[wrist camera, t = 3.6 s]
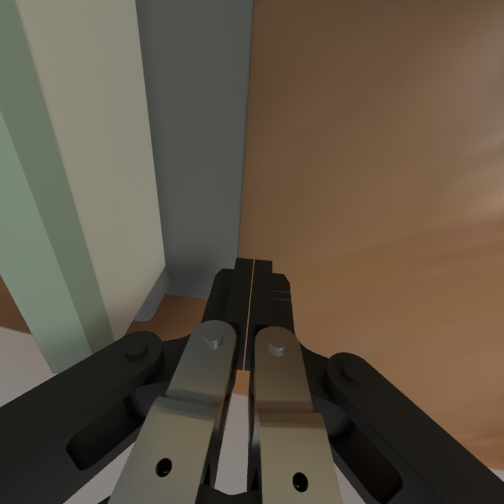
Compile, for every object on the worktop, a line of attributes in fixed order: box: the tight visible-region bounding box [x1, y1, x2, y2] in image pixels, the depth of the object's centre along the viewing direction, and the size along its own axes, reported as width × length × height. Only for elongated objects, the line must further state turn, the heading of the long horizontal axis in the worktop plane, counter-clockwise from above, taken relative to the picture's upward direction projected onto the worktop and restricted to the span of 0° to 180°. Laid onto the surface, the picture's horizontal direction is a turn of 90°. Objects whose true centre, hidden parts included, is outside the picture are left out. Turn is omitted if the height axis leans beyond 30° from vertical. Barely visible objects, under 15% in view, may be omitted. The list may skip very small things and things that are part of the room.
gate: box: [0, 0, 166, 374], centre depth 9 cm, size 15×2×7 cm, turn 175°
